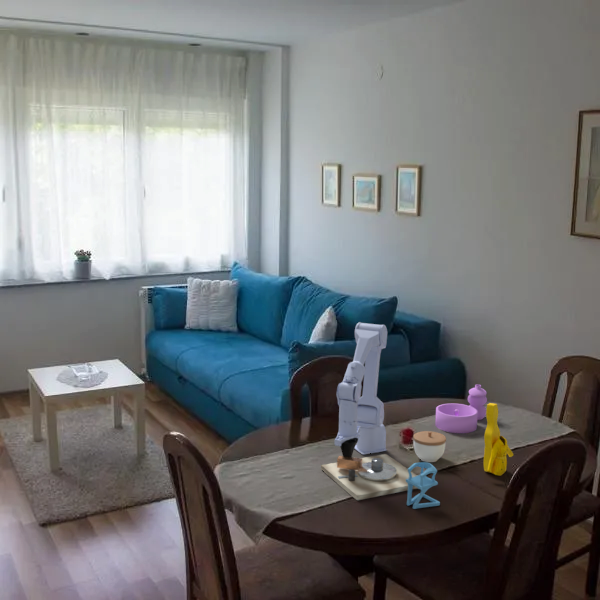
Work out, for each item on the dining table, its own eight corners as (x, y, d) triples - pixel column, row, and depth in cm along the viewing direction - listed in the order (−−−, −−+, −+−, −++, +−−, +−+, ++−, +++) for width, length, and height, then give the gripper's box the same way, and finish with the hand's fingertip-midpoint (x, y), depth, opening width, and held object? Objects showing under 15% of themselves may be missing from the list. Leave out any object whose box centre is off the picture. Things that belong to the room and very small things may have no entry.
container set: (461, 436, 269) (463, 401, 267) (427, 425, 280) (428, 392, 277) (498, 420, 286) (500, 387, 284) (464, 411, 297) (466, 379, 295)
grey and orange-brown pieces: (399, 468, 236) (399, 455, 235) (392, 483, 225) (392, 470, 224) (342, 460, 241) (342, 448, 241) (333, 475, 230) (333, 462, 229)
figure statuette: (493, 483, 230) (498, 415, 226) (470, 476, 235) (474, 409, 231) (518, 465, 243) (522, 401, 239) (495, 459, 248) (499, 396, 244)
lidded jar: (448, 455, 251) (449, 429, 249) (440, 467, 241) (441, 440, 240) (417, 450, 255) (418, 424, 254) (408, 461, 246) (409, 434, 244)
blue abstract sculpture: (400, 502, 217) (402, 463, 214) (421, 495, 221) (423, 457, 219) (419, 512, 210) (421, 472, 208) (440, 505, 215) (442, 465, 213)
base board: (385, 458, 249) (386, 445, 248) (426, 486, 227) (426, 472, 226) (321, 469, 239) (321, 456, 238) (357, 500, 217) (357, 485, 216)
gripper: (349, 428, 226) (348, 470, 229) (369, 415, 239) (368, 455, 241) (328, 424, 230) (328, 466, 232) (349, 411, 242) (348, 450, 245)
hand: (347, 460), depth 237 cm, fingers closed
